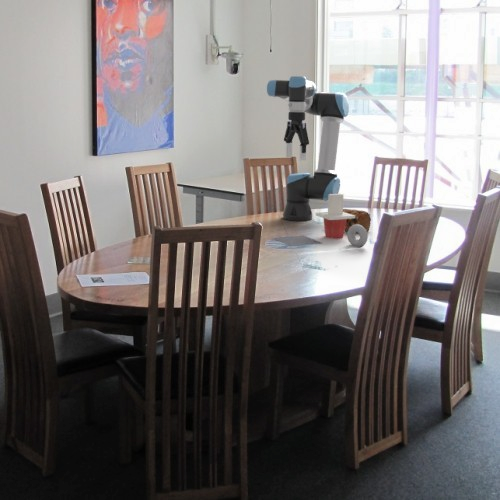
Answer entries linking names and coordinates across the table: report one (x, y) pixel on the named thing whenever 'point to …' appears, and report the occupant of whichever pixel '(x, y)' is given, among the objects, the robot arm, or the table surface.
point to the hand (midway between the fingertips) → (295, 158)
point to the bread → (358, 219)
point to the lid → (335, 208)
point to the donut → (362, 233)
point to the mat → (297, 240)
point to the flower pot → (334, 228)
